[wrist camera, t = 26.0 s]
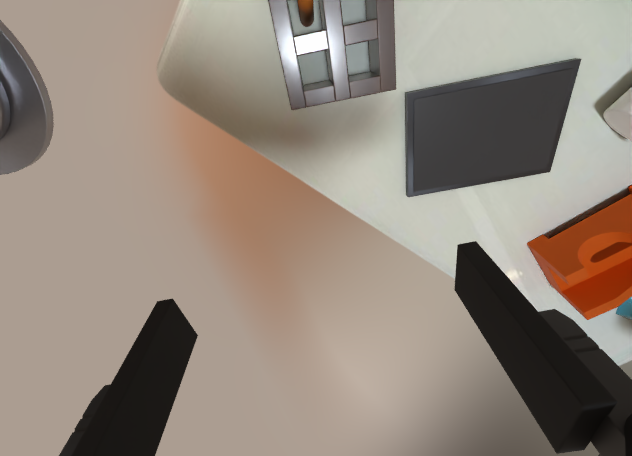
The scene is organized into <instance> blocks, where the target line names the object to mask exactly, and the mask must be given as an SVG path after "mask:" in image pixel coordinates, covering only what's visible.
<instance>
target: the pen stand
mask: <svg viewBox="0 0 632 456" xmlns="http://www.w3.org/2000/svg"><path fill="white" fill-rule="evenodd" d="M287 1H290V0H268V2H269V7H270V11H271V16H272V21H273V25H274V30H275V35H276V39H277V44H278V49H279V54H280V58H281V63H282V68H283V72H284V77H285V82H286V86H287V91H288V96H289V101H290V105H291V110H296V109H301V108H306V107H310V106H315V105H320V104H325V103H330V102H335V101H340V100H345V99H350V98H356V97H361V96H366V95H371V94H376V93H380V92H386V91H391V90H396V66H395V28H394V0H366V14H367V21H363V22H359V23H354V24H349V25H345V26H343V20H342V11H341V2H340V0H319V6H320V13H321V20H322V27H323V30H322V31H317V32H312V33H308V34H303V35H299V36H294V34H293V29H292V23H291V18H290V12H289V7H288V2H287ZM365 41H368V44H369V58H370V72H366V73H362V74H357V75H352V76H348V68H347V58H346V49H345V45H351V44H355V43H360V42H365ZM322 50H326V56H327V64H328V71H329V78H330V80H328V81H323V82H318V83H313V84H308V85H304V86H303V83H302V77H301V72H300V67H299V61H298V56H299V55H304V54H308V53H313V52H318V51H322Z"/></svg>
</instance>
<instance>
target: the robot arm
mask: <svg viewBox="0 0 632 456" xmlns="http://www.w3.org/2000/svg"><path fill="white" fill-rule="evenodd" d="M9 123H10V106H9V101H8V98H7V95H6V92H5V89H4V87H3V85H2V83H1V81H0V139H1V138H2V137H3V136H4V134H5V133H6V131H7V129H8V127H9ZM455 291H456V293H457V294H458V296H459V297H460V299H461V301H462V302H463V304H464V306H465V307H466V309H467V310H468V312H469V314H470V315H471V317H472V318H473V320H474V322H475V323H476V325H477V326H478V328H479V329H480V331H481V333H482V334H483V336H484V338H485V339H486V341H487V343H488V344H489V345H490V347H491V349H492V351H493V352H494V354H495V355H496V357H497V359H498V360H499V362H500V363H501V365H502V367H503V368H504V370H505V371H506V373H507V375H508V376H509V378H510V379H511V381H512V383H513V384H514V386H515V387H516V389H517V391H518V392H519V394H520V395H521V397H522V399H523V400H524V402H525V403H526V405H527V407H528V408H529V410H530V411H531V413H532V415H533V416H534V418H535V420H536V421H537V423H538V424H539V426H540V428H541V429H542V431H543V432H544V434H545V435H546V437H547V439H548V440H549V442H550V444H551V445H552V447H553V448H554V450H555V452H556V453H565V452H572V451H579V450H584V449H585V448H586V446H587V445H588V444H589V442H590V441H591V442H592V443H593V445H594V446H595V448H596V449H597V450H598V452H599V453H600V454H599V456H632V380H631V379H630V378H629V377H628V375H626V373H625V372H623V370H622V369H621V368H620V367H619V366H618V365H617V364H616V363H615V362H614V361H613V360H612V359H611V358H610V357H609V356H608V355H607V354H606V353H605V352H604V351H603V350H602V349H599V346H598V345H597V344H596V343H595V342H594V341H593V340H592V339H591V338H590V337H588V336H587V334H586V333H585V332H584V331H583V330H582V329H581V328H580V327H579V326H578V325H577V324H576V323H575V322H574V321H573V320H572V319H570V318H569V317H567V316H565V315H564V314H562V313H560V312H559V311H557V310H556V309H553V310H547V311H541V312H538V311H537V310H536V309H535V308H534V307H533V305H532V304H531V303H530V302H529V301H528V300H527V299H526V298H525V296H524V295H523V294H522V293H521V292H520V291H519V290H518V289H517V287H516V286H515V285H514V284H513V283H512V282H511V281H510V279H509V278H508V277H507V276H506V275H505V274H504V273H503V272H502V270H501V269H500V268H499V267H498V266H497V265H496V264H495V262H494V261H493V260H492V259H491V258H490V257H489V256H488V255H487V253H486V252H485V251H484V250H483V249H482V248H481V247H480V246H479V244H478V243H477V242H476V241H475V242H469V243H464V244H459V245H458V248H457V263H456V277H455ZM197 336H198V335H197V334H196V332H195V331H194V329H193V328H192V326H191V325H190V323H189V322H188V320H187V319H186V317H185V316H184V314H183V313H182V312H181V310H180V309H179V307H178V306H177V304H176V303H175V301H174V300H173V299H169V300H163V301H157V303H156V305H155V307H154V308H153V310H152V312H151V314H150V316H149V318H148V319H147V321H146V323H145V325H144V326H143V328H142V330H141V332H140V333H139V335H138V337H137V339H136V341H135V342H134V344H133V346H132V348H131V350H130V351H129V353H128V355H127V357H126V358H125V360H124V362H123V364H122V366H121V367H120V369H119V371H118V373H117V375H116V376H115V378H114V380H113V382H112V384H111V385H105V386H104V387H103V388H102V389H101V390H100V391H99V393H98V394H97V395H96V396H95V397H94V398H93V399H92V401H91V403H90V404H89V406H88V407H87V409H86V411H85V413H84V414H83V418H82V419H80V421H79V423H78V424H77V426H76V428H75V432H74V433H72V435H71V436H70V438H69V440H68V441H67V443H66V445H65V446H64V448H63V450H62V452H61V453H60V455H59V456H155V454H156V451H157V448H158V445H159V443H160V440H161V437H162V434H163V431H164V429H165V426H166V423H167V420H168V417H169V415H170V412H171V409H172V406H173V403H174V401H175V397H176V395H177V392H178V389H179V387H180V384H181V381H182V378H183V375H184V372H185V370H186V367H187V364H188V361H189V358H190V355H191V353H192V350H193V347H194V344H195V342H196V339H197Z"/></svg>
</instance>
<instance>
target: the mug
mask: <svg viewBox="0 0 632 456" xmlns="http://www.w3.org/2000/svg"><path fill="white" fill-rule="evenodd" d="M603 116H604V119H605V121H606V122H607V124H608V125H609V126H610V127H611V128H612V129H614V130H615V131H616V132H618V133H619V134H620V135H622V136H624V137H625V138H627V139H629V140H630V141H632V87H631V88H630V89H629V90H628V91H626V92H625V93H624V94H623V95H622V96H621V97H620V98H619V99H618V100H616V101H615V102H614V103H613V104H612V105H611V106H610V107H609V108H608V109H606V110H605V112H604V114H603Z"/></svg>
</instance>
